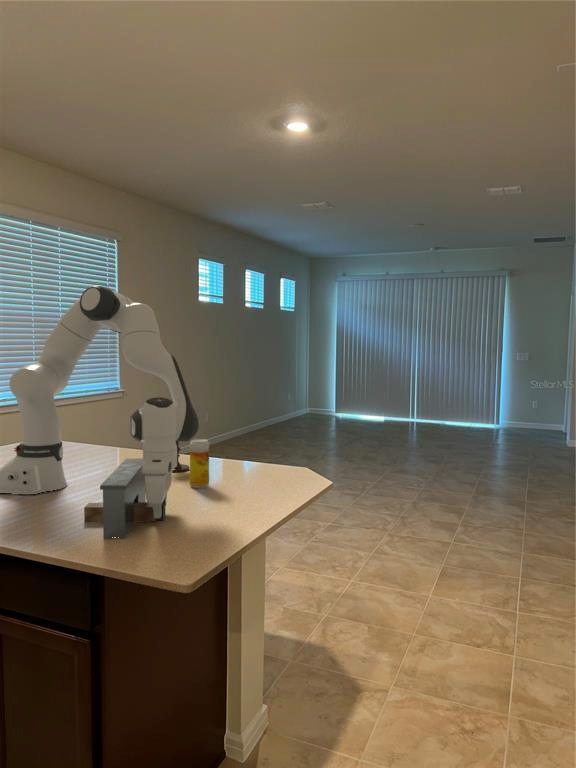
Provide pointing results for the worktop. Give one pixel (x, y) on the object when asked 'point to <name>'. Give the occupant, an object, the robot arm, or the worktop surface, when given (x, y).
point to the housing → (122, 497)
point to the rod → (141, 512)
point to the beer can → (199, 463)
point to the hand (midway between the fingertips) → (160, 511)
